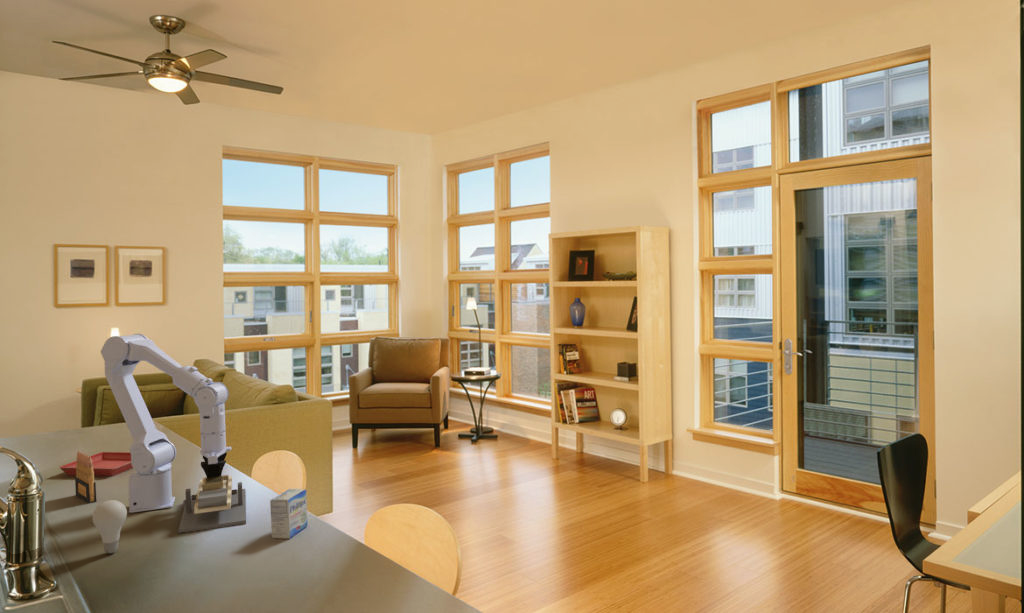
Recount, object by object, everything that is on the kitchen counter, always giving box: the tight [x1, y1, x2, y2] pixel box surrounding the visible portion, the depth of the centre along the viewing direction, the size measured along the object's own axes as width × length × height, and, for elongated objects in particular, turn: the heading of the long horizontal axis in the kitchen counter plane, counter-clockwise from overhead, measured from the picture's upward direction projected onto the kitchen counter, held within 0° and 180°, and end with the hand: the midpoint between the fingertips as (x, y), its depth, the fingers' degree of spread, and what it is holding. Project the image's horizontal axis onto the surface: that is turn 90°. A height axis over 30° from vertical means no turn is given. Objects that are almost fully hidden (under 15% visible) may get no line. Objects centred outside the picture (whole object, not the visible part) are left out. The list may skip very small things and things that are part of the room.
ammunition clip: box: [74, 450, 97, 504], centre depth 171 cm, size 11×2×12 cm, turn 49°
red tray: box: [59, 451, 134, 477], centre depth 200 cm, size 18×18×3 cm
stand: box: [178, 481, 247, 534], centre depth 160 cm, size 26×14×6 cm, turn 23°
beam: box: [191, 474, 238, 514], centre depth 160 cm, size 23×10×3 cm, turn 23°
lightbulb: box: [91, 499, 128, 555], centre depth 135 cm, size 6×6×11 cm
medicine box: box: [269, 488, 308, 540], centre depth 145 cm, size 8×4×9 cm, turn 168°
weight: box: [202, 475, 224, 491], centre depth 157 cm, size 4×4×4 cm
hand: (215, 485), depth 163 cm, fingers open, 6 cm apart
